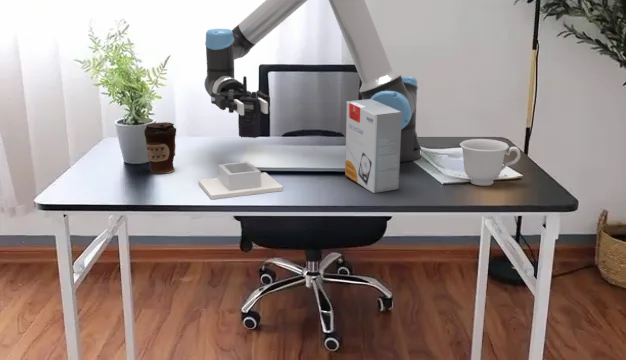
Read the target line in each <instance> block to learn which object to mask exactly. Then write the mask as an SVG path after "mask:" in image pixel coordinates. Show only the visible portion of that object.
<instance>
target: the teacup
mask: <svg viewBox="0 0 626 360" xmlns="http://www.w3.org/2000/svg"><path fill="white" fill-rule="evenodd" d="M459 146H460V147H461V149H462V156H463V157H462V158H463V168H464V172H465V174H466V176H468V177H469V178H470V183H471V184H473V185H476V186H480V187H481V186H484V187H485V186H486V187H487V186H491V185H493V184H494V180H495V179H497V178H498V177H499V176H500V175H501V172H502V171H503V170H504V169H505V168H506V167H509V166H512V165H515V164H516V163H518V162H519V160H520V159H521V151H520V149H519V147H517V146H509V145H508V143H507V142H504V141H500V140H497V139H490V138H488V139H487V138H472V139H465V140H463V141H461V142H460V143H459ZM507 150H508V151H507ZM511 152H515V153H516V157H515V158H514V159H513V160H511V161H507V162H506V163H504V161H505V160H504V159H505V155H506V156H510V154H511Z"/></svg>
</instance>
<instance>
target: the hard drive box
mask: <svg viewBox="0 0 626 360" xmlns="http://www.w3.org/2000/svg"><path fill="white" fill-rule="evenodd" d="M345 105H346V106H345V107H346V109H345V112H346V115H345V118H346V119H345V120H346V121H345V163H344V164H345V167H344V169H345V170H344V171H345V172H344V173H345V174H344V175H345V176H346V177H348V178H349V179H351V180H352V181H354V182H355V183H357V184H359V185H360V186H362V187H363V188H364V189H366V190H368V191H369V192H370V193H373V194H376V193H382V192H383V193H384V192H389V191H394V190H399V187H400V186H399V184H400V183H399V182H400V181H399V180H400V163H401V162H400V143H401V121H402V112H401V111H398V110H396V109H394V108H391V107H389V106H386V105H384V104H382V103H379V102H377V101H375V100H372V99H366V100H363V99H356V100H348V101H346V104H345Z"/></svg>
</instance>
